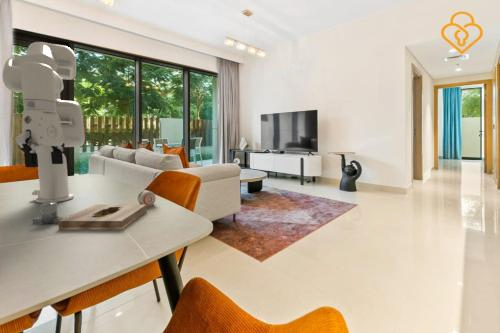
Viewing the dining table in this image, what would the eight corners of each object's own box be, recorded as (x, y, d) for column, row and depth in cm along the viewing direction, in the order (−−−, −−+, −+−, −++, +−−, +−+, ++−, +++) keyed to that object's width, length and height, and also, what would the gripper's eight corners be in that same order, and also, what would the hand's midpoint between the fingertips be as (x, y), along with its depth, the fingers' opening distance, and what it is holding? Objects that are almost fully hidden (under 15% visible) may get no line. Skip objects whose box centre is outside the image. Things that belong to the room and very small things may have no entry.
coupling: (30, 224, 77) (28, 205, 76) (41, 220, 81) (39, 202, 80) (60, 224, 77) (58, 205, 76) (69, 220, 81) (68, 202, 80)
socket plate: (58, 229, 73) (58, 220, 73) (96, 211, 91) (95, 204, 91) (122, 229, 73) (121, 220, 73) (146, 211, 91) (146, 204, 91)
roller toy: (136, 206, 99) (135, 191, 98) (152, 203, 103) (151, 188, 102) (141, 208, 96) (140, 193, 95) (157, 205, 100) (156, 190, 99)
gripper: (28, 103, 67) (34, 168, 68) (73, 110, 84) (77, 162, 86) (-1, 103, 66) (5, 168, 68) (50, 111, 84) (54, 162, 85)
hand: (45, 165), depth 77 cm, fingers open, 9 cm apart
